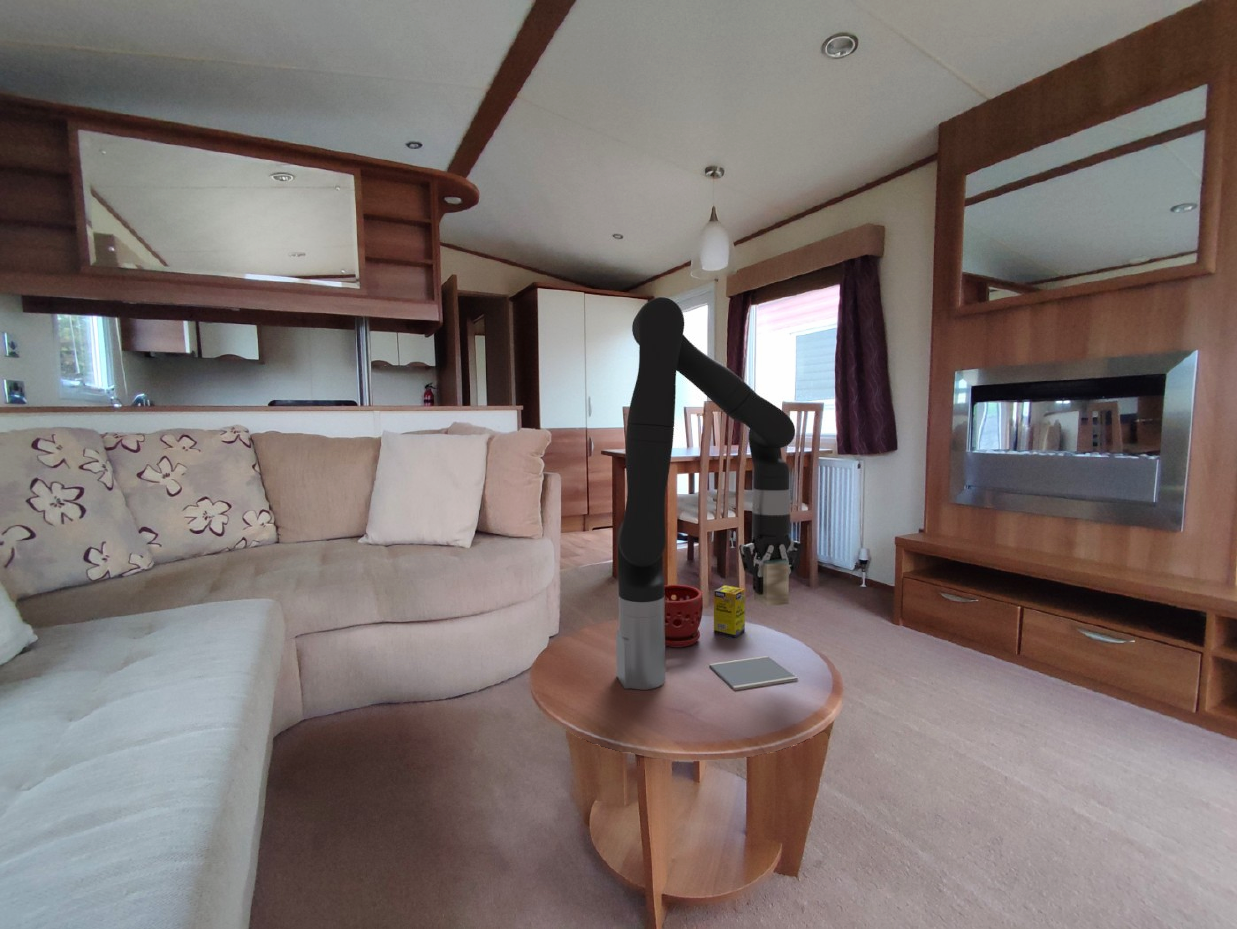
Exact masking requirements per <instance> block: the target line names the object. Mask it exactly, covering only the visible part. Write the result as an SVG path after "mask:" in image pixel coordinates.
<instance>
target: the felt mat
mask: <svg viewBox="0 0 1237 929" xmlns="http://www.w3.org/2000/svg"><path fill="white" fill-rule="evenodd" d="M708 664H709V667H710V669H711V670H712V671H713V672H714V673H715V674H717V675H718V677H720V678H721V679H722V680H723V681H724V682H725V683H726V684H728V686H729V687H730V688H732V690H733V691H740V690H745V689H752V688H757V687H764V686H765V687H766V686H772V685H778V684H782V683H789V682H791V683H792V682H796V681H798V679H799V678H798V677H797V676H796V675H794V674H793V673H792V672H790V671H789V670H787V669H786V668H785V667H783V666H782V665H781V664H780V663H778V662H777V661H775V660H774V659H772V658H771V657H769V656H768V655H763V656H757V657H750V658H743V659H736V660H729V661H720V662H714V663H708Z"/></svg>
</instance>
